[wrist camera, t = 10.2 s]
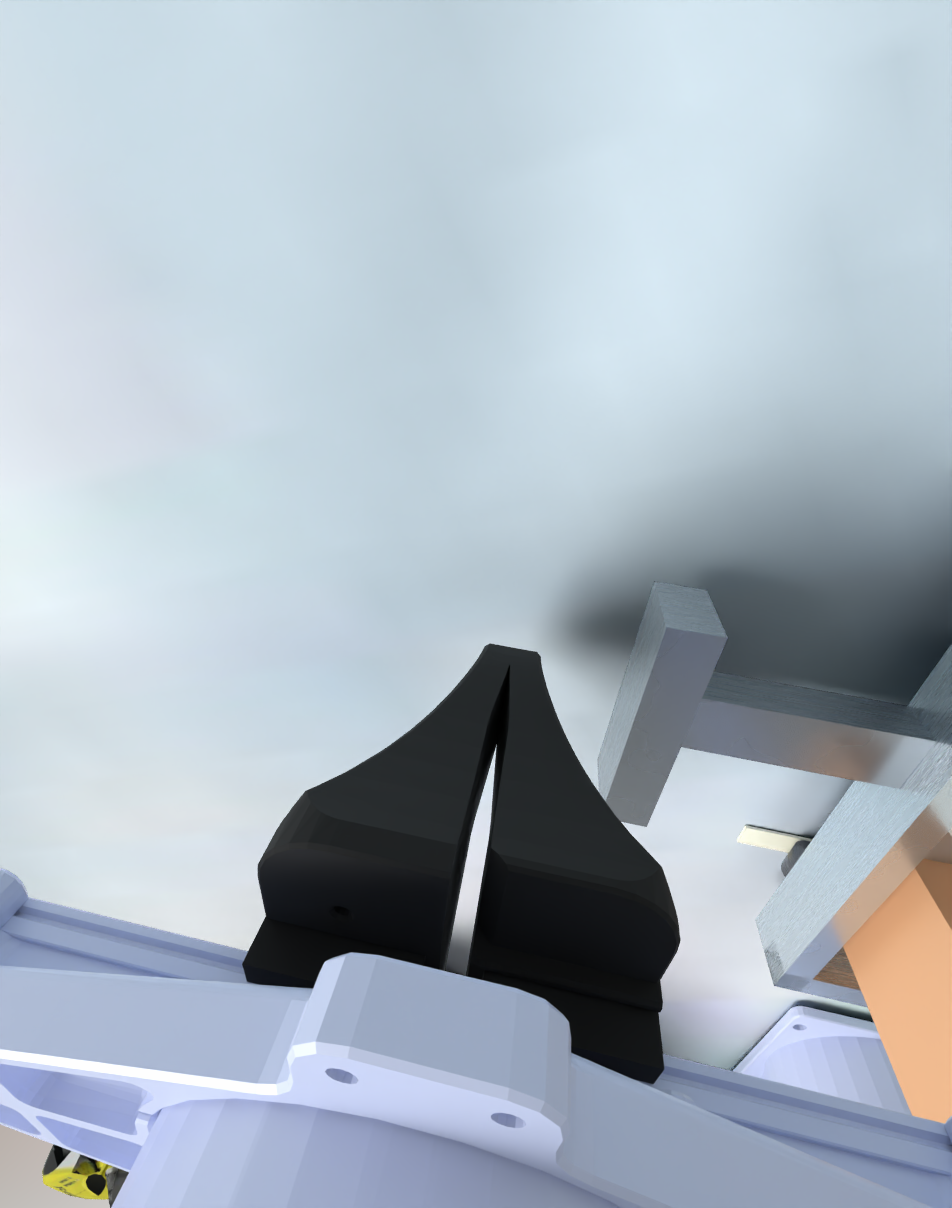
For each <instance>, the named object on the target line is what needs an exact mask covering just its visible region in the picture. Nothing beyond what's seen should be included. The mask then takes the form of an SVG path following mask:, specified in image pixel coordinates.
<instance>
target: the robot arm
mask: <svg viewBox="0 0 952 1208" xmlns="http://www.w3.org/2000/svg"><path fill="white" fill-rule="evenodd" d="M496 744H497V747H496ZM495 748H496V760H495V774H494V787H493V801H492V814H491V825H490V834H489V841H488V847H487V853H486V859H485V865H484V871H483V877H482V883H481V889H480V895H479V901H478V907H477V913H476V919H475V925H474V931H473V937H472V943H471V949H470V955H469V960H468V966H467V972H466V976H463V975H459V974H455V973H450V972H446V971H445V967H446V962H447V956H448V951H449V946H450V940H451V935H452V930H453V925H454V919H455V914H456V909H457V904H458V899H459V893H460V888H461V883H462V878H463V873H464V867H465V862H466V857H467V852H468V847H469V842H470V836H471V832H472V828H473V824H474V820H475V816H476V813H477V809H478V806H479V802H480V799H481V796H482V792H483V789H484V785H485V782H486V779H487V775H488V772H489V768H490V765H491V761H492V758H493V755H494V751H495ZM258 880H259V885H260V889H261V894H262V899H263V904H264V909H265V913H266V917H265V919H264V921H263V923H262V925H261V927H260V929H259V931H258V933H257V935H256V937H255V939H254V941H253V943H252V945H251V947H250V949H249V951H244V950H240V949H236V948H232V947H228V946H224V945H220V944H216V943H212V942H208V941H204V940H200V939H196V938H192V937H187V936H183V935H179V934H175V933H171V932H167V931H163V930H159V929H155V928H151V927H147V926H143V925H139V924H135V923H131V922H127V921H123V920H119V919H115V918H111V917H107V916H102V915H98V914H94V913H90V912H86V911H82V910H78V909H74V908H70V907H66V906H62V905H58V904H54V903H50V902H46V901H42V900H38V899H34V898H30V897H28V893H27V890H26V888H25V886H24V884H23V883H22V881H21V880H20V879H19V878H18V877H17V876H16V875H14V874H13V873H11V872H9V871H8V870H5V869H2V868H0V1125H3V1126H6V1127H8V1128H11V1129H14V1130H16V1131H19V1132H22V1133H25V1134H27V1135H30V1136H33V1137H35V1138H38V1139H41V1140H44V1141H46V1142H49V1143H52V1144H54V1145H57V1146H60V1147H62V1148H65V1149H68V1150H70V1151H73V1152H76V1153H78V1154H81V1155H84V1156H87V1157H89V1158H92V1159H95V1160H97V1161H100V1162H103V1163H105V1164H108V1165H111V1166H113V1167H116V1168H119V1169H122V1170H124V1171H127V1172H129V1174H128V1176H127V1178H126V1180H125V1182H124V1183H123V1185H122V1187H121V1189H120V1191H119V1193H118V1195H117V1197H116V1199H115V1201H114V1203H113V1205H112V1207H111V1208H952V1116H951V1117H950V1118H949V1119H948V1120H947V1121H946V1123H945V1124H944V1123H940V1122H936V1121H932V1120H928V1119H924V1118H920V1117H916V1116H912V1114H911V1111H910V1109H909V1107H908V1104H907V1102H906V1099H905V1097H904V1094H903V1092H902V1089H901V1087H900V1085H899V1082H898V1080H897V1077H896V1075H895V1072H894V1070H893V1067H892V1065H891V1063H890V1060H889V1058H888V1055H887V1053H886V1050H885V1048H884V1045H883V1043H882V1041H881V1038H880V1036H879V1033H878V1031H877V1028H876V1026H875V1023H874V1022H870V1021H865V1020H861V1019H857V1018H852V1017H848V1016H844V1015H839V1014H835V1013H831V1012H827V1011H822V1010H818V1009H814V1008H809V1007H805V1006H796V1007H792V1008H791V1009H790V1010H789V1011H788V1012H787V1013H786V1014H785V1015H784V1016H783V1017H782V1018H781V1019H780V1020H779V1022H778V1023H777V1024H776V1025H775V1026H774V1027H773V1028H772V1029H771V1030H770V1031H769V1032H768V1033H767V1034H766V1035H765V1037H764V1038H763V1039H762V1040H761V1041H760V1042H759V1043H758V1044H757V1045H756V1046H755V1047H754V1048H753V1049H752V1050H751V1052H750V1053H749V1054H748V1055H747V1056H746V1057H745V1058H744V1059H743V1060H742V1061H741V1062H740V1063H739V1064H738V1066H737V1067H736V1068H735V1069H734V1070H733V1071H730V1070H726V1069H722V1068H718V1067H714V1066H710V1065H706V1064H702V1063H697V1062H693V1061H689V1060H685V1059H681V1058H677V1057H673V1056H669V1055H665V1054H663V1051H662V1042H661V1033H660V1024H659V1015H658V1012H660V1011H661V1010H662V1005H663V1001H662V992H661V984H660V979H661V978H662V976H663V974H664V973H665V971H666V969H667V968H668V966H669V964H670V963H671V961H672V959H673V958H674V956H675V954H676V953H677V950H678V947H679V944H680V935H679V925H678V918H677V914H676V910H675V906H674V903H673V900H672V896H671V893H670V889H669V886H668V883H667V880H666V877H665V875H664V872H663V869H662V867H661V866H660V865H659V863H658V862H657V861H656V860H655V859H654V858H653V857H652V856H651V855H650V854H649V853H648V852H647V851H646V850H645V849H644V848H643V847H642V845H641V844H640V843H639V842H638V841H637V840H636V839H635V838H634V837H633V836H632V835H631V834H630V833H629V831H628V830H627V829H626V828H625V826H624V825H623V824H622V823H621V822H620V820H619V819H618V818H617V817H616V815H615V814H614V813H613V811H612V810H611V809H610V807H609V806H608V804H607V803H606V802H605V800H604V799H603V797H602V796H601V795H600V793H599V792H598V790H597V789H596V788H595V786H594V785H593V783H592V782H591V780H590V778H589V777H588V775H587V774H586V772H585V770H584V769H583V767H582V765H581V764H580V762H579V760H578V758H577V757H576V755H575V753H574V751H573V749H572V747H571V745H570V743H569V741H568V739H567V737H566V735H565V733H564V731H563V729H562V726H561V724H560V722H559V719H558V717H557V715H556V712H555V709H554V707H553V704H552V701H551V698H550V696H549V692H548V689H547V686H546V682H545V679H544V675H543V671H542V665H541V657H540V655H539V654H538V653H537V652H534V651H528V650H522V649H517V648H511V647H506V646H500V645H495V644H488V645H486V646H485V647H484V649H483V651H482V653H481V654H480V656H479V658H478V659H477V661H476V662H475V663H474V665H473V666H472V667H471V669H470V670H469V671H468V673H467V674H466V675H465V676H464V678H463V679H462V680H461V681H460V682H459V684H458V685H457V686H456V687H455V688H454V689H453V690H452V692H451V693H450V694H449V695H448V696H447V697H446V698H445V699H444V700H443V701H442V702H441V703H440V704H439V705H438V706H437V707H436V708H435V709H434V710H433V711H432V712H431V713H430V714H429V715H427V716H426V717H425V718H424V719H423V720H422V721H421V722H419V723H418V724H417V725H416V726H415V727H413V728H412V729H411V730H410V731H408V732H407V733H406V734H404V735H403V736H402V737H400V738H399V739H398V740H396V741H395V742H394V743H392V744H391V745H389V746H388V747H387V748H385V749H384V750H382V751H381V752H379V753H377V754H376V755H374V756H372V757H371V758H369V759H367V760H366V761H364V762H362V763H361V764H359V765H357V766H356V767H354V768H352V769H351V770H349V771H347V772H345V773H343V774H341V775H339V776H337V777H335V778H333V779H331V780H329V781H327V782H324V783H322V784H320V785H318V786H316V787H314V788H312V789H309V790H307V791H305V792H304V794H303V795H302V796H301V797H300V799H299V800H298V801H297V802H296V804H295V805H294V806H293V807H292V809H291V810H290V812H289V813H288V814H287V816H286V817H285V818H284V820H283V821H282V822H281V824H280V826H279V827H278V829H277V830H276V832H275V834H274V836H273V838H272V840H271V841H270V843H269V845H268V847H267V849H266V851H265V853H264V854H263V856H262V858H261V860H260V862H259V864H258Z"/></svg>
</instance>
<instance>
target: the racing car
mask: <svg viewBox="0 0 952 1208" xmlns="http://www.w3.org/2000/svg"><path fill="white" fill-rule="evenodd" d="M42 1173H43V1183H44V1184H45V1185H47V1186H49V1187H51V1188H53V1189H55V1190H58V1191H60V1192H63V1193H65V1194H68V1195H70V1196H75V1197H80V1198H85V1199H109V1204H110V1208H111V1207H112V1205H113V1203H114V1201H115V1199H116V1197H117V1195H118V1193H119V1191H120V1189H121V1187H122V1185H123V1183H124V1182H125V1180H126V1178H127V1176H128V1174H129V1172H127V1171H124V1170H122V1169H119V1168H116V1167H113V1166H111V1165H108V1164H105V1163H103V1162H100V1161H97V1160H95V1159H92V1158H89V1157H87V1156H84V1155H81V1154H78V1153H76V1152H73V1151H70V1150H68V1149H65V1148H62V1147H60V1146H57V1145H53V1147H52V1149H51V1151H50V1153H49V1155H48V1157H47V1159H46V1162H45V1165H44V1168H43V1171H42Z"/></svg>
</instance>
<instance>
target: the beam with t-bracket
mask: <svg viewBox="0 0 952 1208" xmlns="http://www.w3.org/2000/svg"><path fill="white" fill-rule="evenodd" d="M727 639H728V637H727V635H726V633H725V630H724V628H723V626H722V624H721V621H720V619H719V617H718V614H717V612H716V610H715V608H714V605H713V603H712V601H711V599H710V596H709V594H708V592H707V590H703V589H697V588H691V587H685V586H679V585H673V584H667V583H661V582H655V581H654V584H653V587H652V590H651V593H650V596H649V600H648V603H647V606H646V609H645V612H644V615H643V618H642V622H641V625H640V628H639V631H638V634H637V637H636V640H635V644H634V647H633V650H632V653H631V656H630V659H629V662H628V665H627V669H626V672H625V675H624V678H623V681H622V684H621V687H620V691H619V694H618V697H617V700H616V703H615V706H614V709H613V713H612V716H611V719H610V722H609V725H608V728H607V731H606V735H605V738H604V741H603V744H602V747H601V750H600V753H599V757H598V780H599V793H600V795H601V796H602V797H603V799H604V800H605V802H606V803H607V804H608V806H609V807H610V809H611V810H612V811H613V813H614V814H615V815H616V817H617V818H618V819H619V820H620V821H621V822H626V823H630V824H635V825H640V826H645V827H647V825H648V822H649V820H650V818H651V815H652V813H653V811H654V808H655V806H656V804H657V801H658V799H659V797H660V794H661V792H662V790H663V788H664V785H665V783H666V781H667V778H668V776H669V774H670V771H671V769H672V767H673V764H674V762H675V760H676V757H677V755H678V753H679V750H680V748H681V747H684V748H690V749H695V750H700V751H705V752H710V753H715V754H721V755H726V756H731V757H736V758H741V759H747V760H752V761H757V762H762V763H767V764H773V765H778V766H783V767H788V768H793V769H798V770H804V771H809V772H814V773H819V774H824V775H830V776H835V777H840V778H845V779H850V780H854V782H853V783H852V785H851V786H850V787H849V789H848V790H847V792H846V793H845V794H844V796H843V797H842V799H841V800H840V801H839V803H838V804H837V806H836V807H835V808H834V810H833V811H832V813H831V814H830V815H829V817H828V818H827V820H826V821H825V823H824V824H823V825H822V827H821V828H820V830H819V831H818V832H817V834H816V835H815V837H814V838H813V839H812V841H811V842H810V841H806V840H800V841H797V842H796V843H795V844H794V846H793V847H792V849H791V850H790V852H789V853H788V855H787V856H786V858H785V859H784V860H783V862H782V865H781V868H782V872H783V874H784V876H785V879H784V880H783V882H782V883H781V884H780V886H779V887H778V889H777V890H776V892H775V893H774V894H773V896H772V897H771V899H770V900H769V901H768V903H767V904H766V906H765V907H764V908H763V910H762V911H761V913H760V914H759V915H758V917H757V918H756V920H755V921H756V924H757V928H758V931H759V935H760V938H761V942H762V945H763V949H764V952H765V956H766V959H767V963H768V966H769V970H770V973H771V977H772V980H773V984H774V986H777V987H782V988H786V989H790V990H795V991H799V992H803V993H808V994H812V995H816V996H821V997H825V998H829V999H834V1000H838V1001H842V1002H847V1003H851V1004H855V1005H860V1006H864V1007H868V1006H867V1004H866V1001H865V999H864V996H863V994H862V992H861V989H860V987H859V984H858V982H857V979H856V977H855V974H854V972H853V970H852V967H851V965H850V962H849V960H848V957H847V955H846V952H845V950H844V948H843V946H844V945H845V944H846V942H847V941H848V940H849V939H850V938H851V937H852V936H853V935H854V934H855V933H856V932H857V930H858V929H859V928H860V927H861V926H862V925H863V924H864V923H865V922H866V921H867V920H868V919H869V917H870V916H871V915H872V914H873V913H874V912H875V911H876V910H877V909H878V908H879V907H880V905H881V904H882V903H883V902H884V901H885V900H886V899H887V898H888V897H889V896H890V895H891V894H892V892H893V891H894V890H895V889H896V888H897V887H898V886H899V885H900V884H901V883H902V882H903V881H904V879H905V878H906V877H907V876H908V875H909V874H910V873H911V872H912V871H913V870H914V869H915V867H916V866H917V865H918V864H919V863H920V862H921V861H922V860H923V859H928V860H933V861H938V862H943V863H948V864H952V836H951V835H950V833H949V831H950V829H951V828H952V644H951V645H950V647H949V648H948V649H947V651H946V652H945V654H944V655H943V656H942V658H941V659H940V661H939V662H938V663H937V665H936V666H935V668H934V669H933V670H932V672H931V673H930V675H929V676H928V678H927V679H926V680H925V682H924V683H923V685H922V686H921V687H920V689H919V690H918V692H917V693H916V694H915V696H914V697H913V699H912V700H911V701H910V703H909V704H908V706H905V705H900V704H894V703H889V702H883V701H878V700H872V699H866V698H861V697H855V696H850V695H844V694H838V693H833V692H827V691H822V690H816V689H810V688H805V687H799V686H794V685H788V684H782V683H777V682H771V681H766V680H760V679H754V678H749V677H743V676H738V675H732V674H726V673H721V672H715V671H714V669H715V667H716V665H717V662H718V660H719V658H720V655H721V653H722V651H723V648H724V646H725V644H726V641H727Z"/></svg>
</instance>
